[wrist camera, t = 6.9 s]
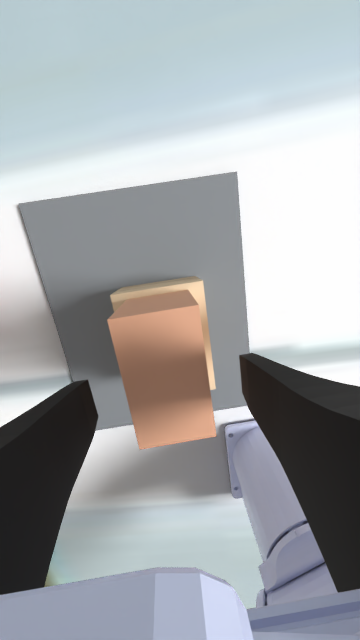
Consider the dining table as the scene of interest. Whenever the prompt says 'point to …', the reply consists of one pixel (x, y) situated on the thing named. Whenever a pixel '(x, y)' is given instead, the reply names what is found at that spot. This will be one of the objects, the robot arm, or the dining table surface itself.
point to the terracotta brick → (164, 368)
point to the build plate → (141, 273)
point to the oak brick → (169, 286)
